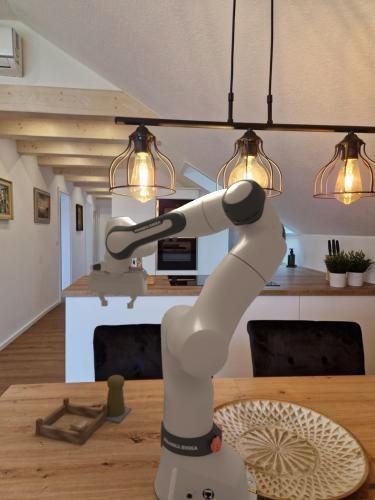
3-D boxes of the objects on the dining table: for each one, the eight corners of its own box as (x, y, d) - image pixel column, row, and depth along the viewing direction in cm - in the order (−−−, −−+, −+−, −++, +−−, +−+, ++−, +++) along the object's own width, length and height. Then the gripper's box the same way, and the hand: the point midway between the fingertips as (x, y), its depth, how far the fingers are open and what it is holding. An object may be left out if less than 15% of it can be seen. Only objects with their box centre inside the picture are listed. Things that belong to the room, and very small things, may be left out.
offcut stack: (89, 432, 91) (89, 420, 91) (81, 440, 87) (81, 427, 87) (74, 429, 92) (74, 417, 92) (66, 437, 88) (66, 424, 88)
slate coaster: (131, 409, 103) (131, 407, 103) (119, 423, 96) (119, 421, 96) (108, 405, 105) (108, 403, 105) (95, 419, 98) (95, 417, 98)
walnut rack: (107, 418, 98) (108, 405, 98) (83, 444, 86) (83, 430, 85) (65, 410, 102) (65, 397, 102) (35, 434, 89) (35, 420, 89)
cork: (110, 405, 104) (110, 371, 104) (128, 407, 103) (128, 373, 103) (101, 415, 98) (102, 379, 98) (120, 418, 97) (121, 381, 97)
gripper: (150, 266, 109) (149, 307, 109) (95, 263, 114) (95, 303, 114) (143, 268, 102) (142, 311, 103) (85, 265, 108) (85, 306, 108)
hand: (117, 307), depth 109 cm, fingers open, 8 cm apart
